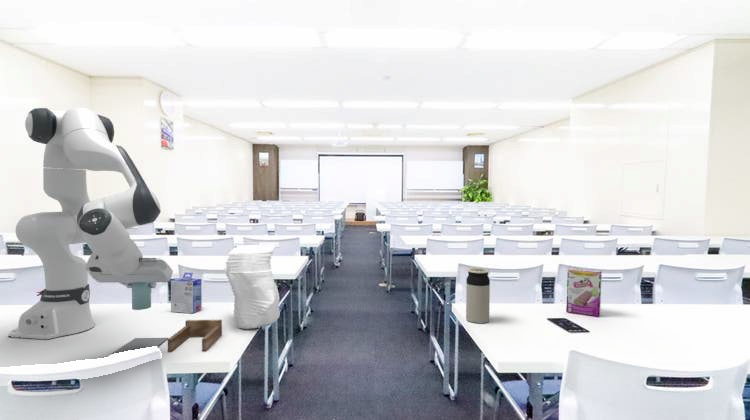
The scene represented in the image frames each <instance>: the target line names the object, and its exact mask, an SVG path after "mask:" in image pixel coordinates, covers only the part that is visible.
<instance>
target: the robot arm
mask: <svg viewBox="0 0 750 420" xmlns="http://www.w3.org/2000/svg"><path fill="white" fill-rule="evenodd" d="M24 121H25V122H24V125H25V126H24V127H25V130H26V132H27V135H28V137H29V138H30V140H32V141H33V142H36V143H40V144H44V145H45V147H44V154H43V163H42V164H43V166H42V167H43V168H42V169H43V173H42V174H43V177H42V178H43V181H42V182H43V183H42V185H43V187H42V188H43V191H44V193H45V195H47V196H48V197H49V198H51V199H53V200H55V201H57V202H58V203H59V205H60V206H61V211H43V212H38V213H32V214H28V215H24V216H22V217H21V218H20V219H19V220H18V222H17V223H16V226H15V236H16V238H17V240H18V242H20V243H21V244H22V245H23V246H25V247H26V248H29V249H31V250H32V251H33V252H34V253H35V254H36V255H37V256H38V257H39V259H40V261H41V263H42V265H43V266H42V267H43V271H44V282H45V285H44V286H45V288H44V289H42V290H41V291H38V292H37V291H36V297H38V296H40V298H39V301H37V302H36V303H35V304H34V305H32V306H31V307H30V308H28V309H27V310H26V311H24V312H23V313H21V315H20V316H19V320H18V324H17V325H18V326H17V327H16V328H14V329H13V330H10V332H9V333H8V336H11V337H10V338H19V337H20V339H21V338H22V339H34V340H35V339H36V340H38V339H39V340H50V339H55V338H60V337H63V336H68V335H75V334H77V333H78V334H79V333H81V332H85V331H88V330H89V329H92V328H94V327H95V326H96V324H95V321H94V319H93V315H92V312H91V307H90V296H91V293H90V292H91V291H90V284H89V282H88V280H89V279H88V273H89V276H91V278H92V279H93V280H95V281H97V282H99V283H119V284H120V285H123V286H125V287H126V288H127V289H132V282H149V284H148V287H149V288H151V289H156V287H157V285H158V283H168V282H170V281H171V278H172V277H173V274H174V273H173V272H174V270H173V269H172V267H171V266H170V265H169V264H168V263H167V262H166V260H164V259H162V258H160V257H144V256H143V253H142V252H141V250H140V249H139V247H138V246H137V244H136V243H135V241H134V240H133V239H131V236H130V234H129V231H128V230H129V229H132V228H134V227H137V226H144V225H147V224H153V223H154V222H155V221H156V220H157V218H158V217H159V216H160V214H161V204H160V202H159V199H158V197H157V196H156V194H155V193H154V192H153V191H152V190H151V189H150V188H149V187H148V185H147V183H146V181H145V180H144V178H143V176H142V174H141V173H140V171H139V169H138V167H137V166H136V164H135V163H134V161H133V160H132V158H131V156H130V155H129V153H128V151H127V150H126V149H125V148H124V147H123V146H121V145H117V144H116V145H115V144H114V143H113V142H114V136H115V129H114V128H115V127H114V123H113V122H112V121H111V120H110V118H109V117H106V116H104V115H101V114H97V113H96V112H95V111H93V110H91V109H89V108H86V107H74V108H70V109H68V110H67V109H53V108H52V109H51V108H47V107H38V108H33V109H32V110H30V111H29V112H28V114H27V116H26V118H25V120H24ZM87 171H91V172H93V171H94V172H103V171H104V172H107V171H108V172H116V173H121V174H122V176H124V177H123V178H124V179H125V181H126V182H127V184H128V186H129V188H128V190H126V191H124V192H120V193H116V194H113V195H112V194H111V195H109V196H107V197H105V196H104V197H102V198H97V199H95V200H92V201H91V200H90V197H89V194H88V187H87ZM76 244H86V245H87V246H88V248H89V249H90V251H91V252H92V253H91V255H90V256H89V258H88V260H87V262H86V260H84V258H82V257H80V256H78V255H75V254H73V253H72V251H71V248H70V245H76Z"/></svg>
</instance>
